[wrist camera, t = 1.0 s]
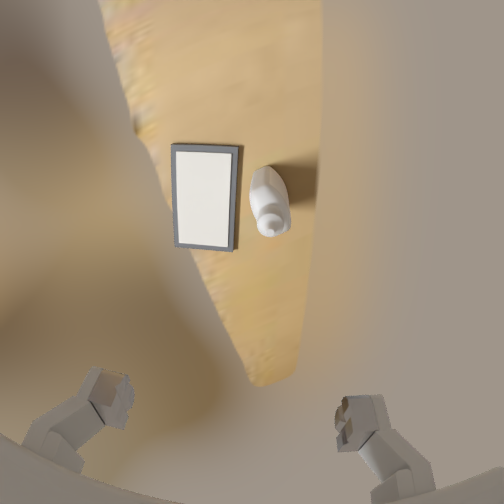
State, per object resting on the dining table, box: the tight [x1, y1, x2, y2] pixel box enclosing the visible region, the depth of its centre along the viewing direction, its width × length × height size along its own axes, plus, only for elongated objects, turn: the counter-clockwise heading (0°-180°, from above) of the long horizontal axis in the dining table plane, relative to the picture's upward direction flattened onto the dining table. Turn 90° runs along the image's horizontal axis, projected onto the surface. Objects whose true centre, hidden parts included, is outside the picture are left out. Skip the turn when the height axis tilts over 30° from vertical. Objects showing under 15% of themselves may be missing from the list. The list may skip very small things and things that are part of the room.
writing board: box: [171, 144, 239, 252], centre depth 37 cm, size 14×8×1 cm, turn 176°
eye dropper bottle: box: [249, 166, 291, 237], centre depth 31 cm, size 4×6×12 cm
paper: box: [176, 151, 232, 247], centre depth 37 cm, size 12×7×1 cm, turn 176°
